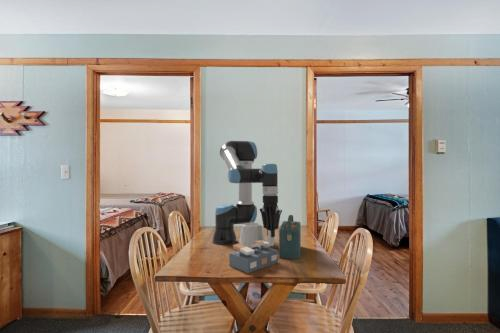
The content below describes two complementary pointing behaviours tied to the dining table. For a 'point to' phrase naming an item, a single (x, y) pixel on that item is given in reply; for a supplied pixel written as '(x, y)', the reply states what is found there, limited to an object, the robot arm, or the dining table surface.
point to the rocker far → (264, 243)
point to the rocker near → (243, 249)
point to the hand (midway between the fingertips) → (271, 243)
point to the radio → (290, 239)
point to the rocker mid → (255, 245)
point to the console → (253, 259)
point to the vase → (251, 233)
